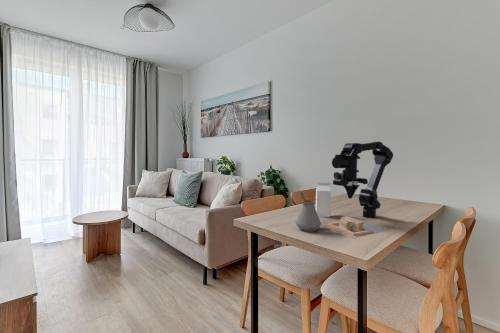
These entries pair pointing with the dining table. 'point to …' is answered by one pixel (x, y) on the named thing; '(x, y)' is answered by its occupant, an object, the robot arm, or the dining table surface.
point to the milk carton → (323, 199)
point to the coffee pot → (308, 216)
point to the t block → (351, 224)
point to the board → (368, 230)
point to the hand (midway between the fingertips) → (350, 198)
